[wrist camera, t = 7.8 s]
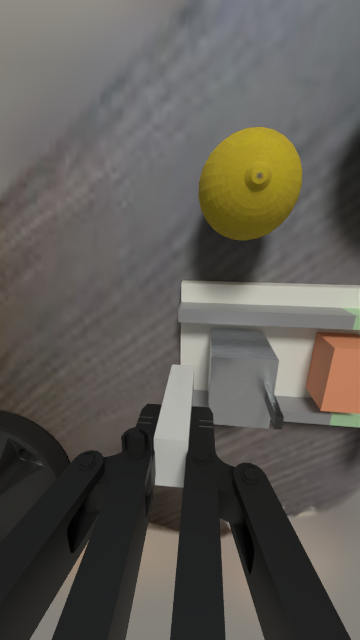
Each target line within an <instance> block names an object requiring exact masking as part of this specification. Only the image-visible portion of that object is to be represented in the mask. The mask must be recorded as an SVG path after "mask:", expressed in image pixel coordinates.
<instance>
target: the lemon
mask: <svg viewBox="0 0 360 640" xmlns="http://www.w3.org/2000/svg"><path fill="white" fill-rule="evenodd" d="M301 186H302V167H301V162H300V157H299V155H298V153H297V151H296V149H295V147H294V145H293V144H292V143H291V142H290V141H289V140H288V139H287V138H286V137H285V136H284V135H282V134H280V133H279V132H277V131H275V130H273V129H268V128H264V127H254V128H246V129H243V130H241V131H238V132H236V133H233V134H232V135H230V136H229V137H228V138H226V139H225V140H223V141H222V142H221V143H220V144H219V145H218V146H217V147H216V148H215V150H214V151H213V152H212V153H211V154H210V156H209V158H208V160H207V161H206V163H205V165H204V167H203V170H202V174H201V177H200V181H199V201H200V207H201V210H202V212H203V215H204V217H205V219H206V221H207V222H208V223H209V224H210V225H211V227H212V228H213V229H214V230H215V231H217V232H218V233H220V234H221V235H222V236H225V237H228V238H230V239H233V240H243V241H245V240H251V239H257V238H260V237H262V236H264V235H266V234H269V233H270V232H272V231H273V230H274V229H276V228H277V227H278V226H280V225H281V224H282V223H283V221H284V220H285V219H286V218H287V217H288V216H289V214H290V213H291V211H292V209H293V208H294V206H295V204H296V202H297V200H298V197H299V193H300V189H301Z"/></svg>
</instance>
